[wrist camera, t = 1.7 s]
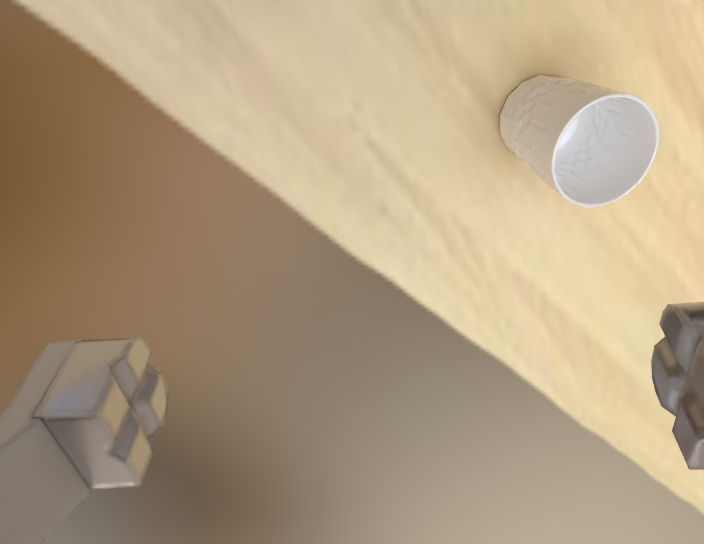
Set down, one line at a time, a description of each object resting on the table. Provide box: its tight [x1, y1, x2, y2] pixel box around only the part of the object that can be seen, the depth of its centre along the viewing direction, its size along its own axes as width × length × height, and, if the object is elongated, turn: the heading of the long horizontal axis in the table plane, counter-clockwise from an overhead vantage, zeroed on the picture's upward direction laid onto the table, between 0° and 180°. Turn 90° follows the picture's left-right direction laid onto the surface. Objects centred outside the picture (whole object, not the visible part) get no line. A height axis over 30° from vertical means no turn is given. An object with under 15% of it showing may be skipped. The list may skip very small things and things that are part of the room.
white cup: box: [500, 75, 659, 207], centre depth 46 cm, size 8×8×10 cm
